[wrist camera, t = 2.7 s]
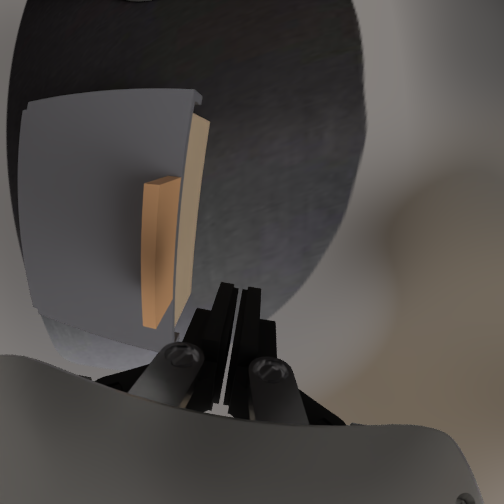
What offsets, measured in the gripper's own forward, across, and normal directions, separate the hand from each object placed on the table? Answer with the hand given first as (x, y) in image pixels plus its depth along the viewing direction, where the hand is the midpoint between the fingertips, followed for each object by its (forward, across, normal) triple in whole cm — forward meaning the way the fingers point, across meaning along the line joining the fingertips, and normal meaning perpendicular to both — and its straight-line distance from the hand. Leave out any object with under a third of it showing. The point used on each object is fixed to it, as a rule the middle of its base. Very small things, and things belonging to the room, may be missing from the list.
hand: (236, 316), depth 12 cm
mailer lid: (+8, +12, -1) cm, 14 cm away
